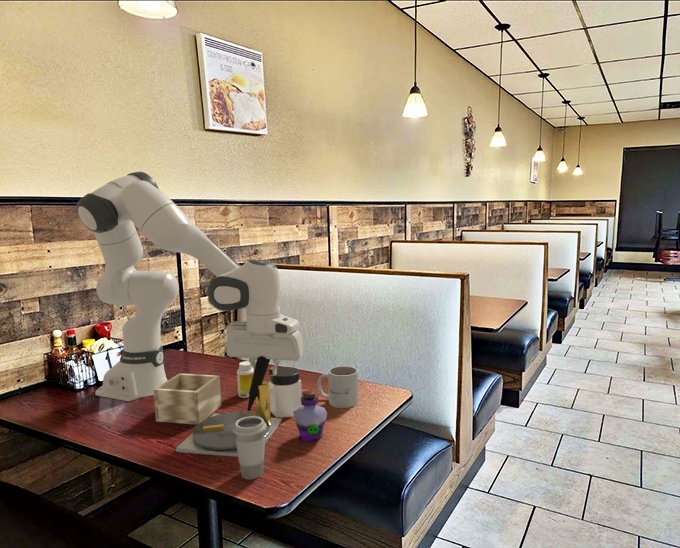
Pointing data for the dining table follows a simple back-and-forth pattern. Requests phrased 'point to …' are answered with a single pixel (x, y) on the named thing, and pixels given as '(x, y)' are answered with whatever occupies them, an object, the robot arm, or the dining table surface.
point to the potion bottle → (310, 417)
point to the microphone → (257, 379)
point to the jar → (285, 392)
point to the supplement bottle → (244, 378)
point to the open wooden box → (187, 398)
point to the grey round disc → (231, 424)
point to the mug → (341, 386)
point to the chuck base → (192, 447)
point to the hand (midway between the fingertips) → (265, 374)
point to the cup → (250, 445)
